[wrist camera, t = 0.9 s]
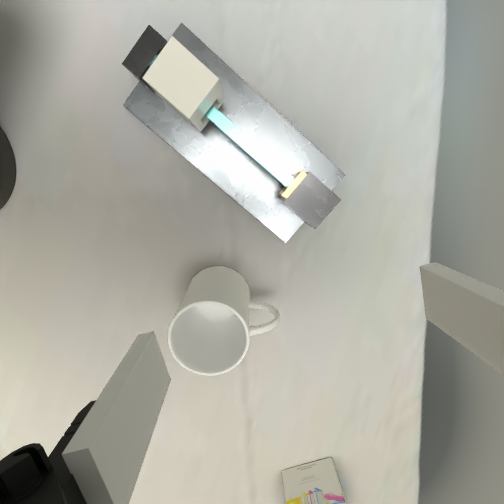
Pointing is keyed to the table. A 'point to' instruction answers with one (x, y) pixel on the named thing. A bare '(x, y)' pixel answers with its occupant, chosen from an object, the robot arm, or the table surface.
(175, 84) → the sleeve
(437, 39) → the table surface
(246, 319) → the mug
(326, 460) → the ink box
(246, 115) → the glowing rod on plate
